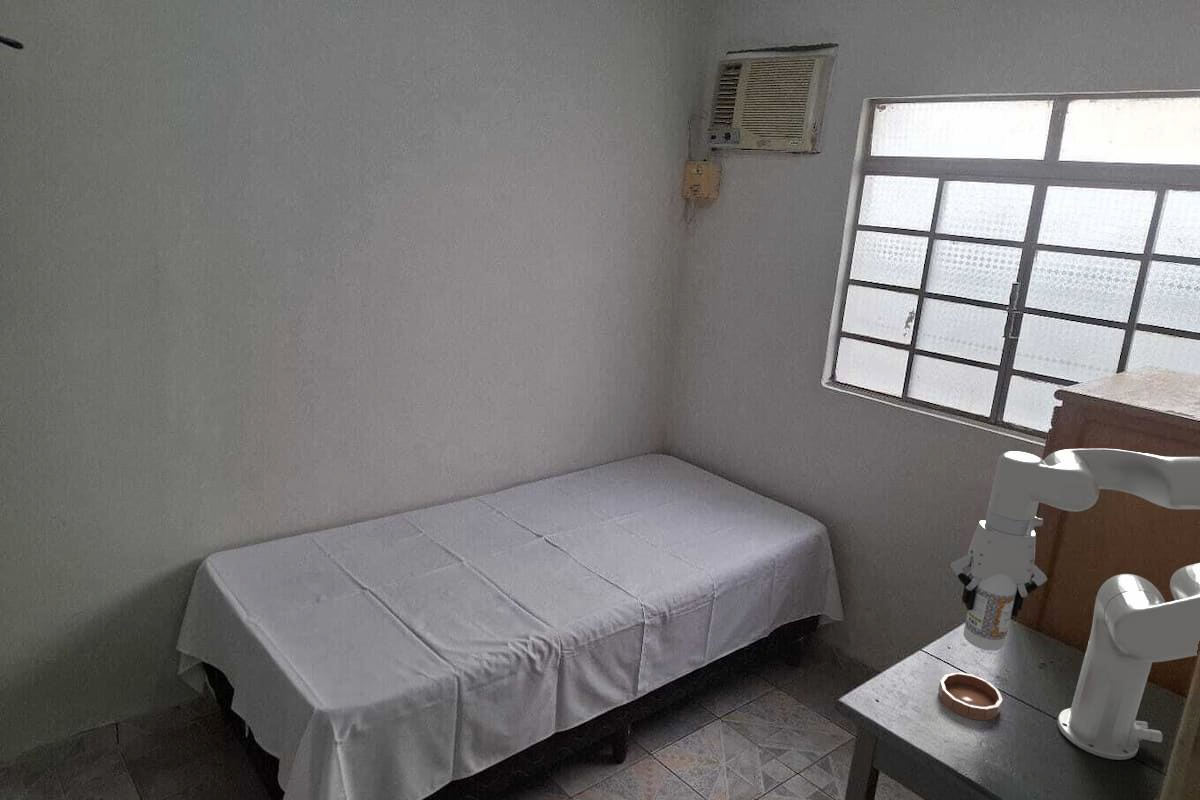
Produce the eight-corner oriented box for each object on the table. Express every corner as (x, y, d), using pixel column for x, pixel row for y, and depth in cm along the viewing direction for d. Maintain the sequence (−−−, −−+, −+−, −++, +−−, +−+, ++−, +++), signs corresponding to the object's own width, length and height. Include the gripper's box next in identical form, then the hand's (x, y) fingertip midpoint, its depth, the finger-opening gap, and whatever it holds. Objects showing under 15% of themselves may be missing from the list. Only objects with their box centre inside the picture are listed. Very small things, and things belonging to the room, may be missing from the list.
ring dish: (991, 689, 156) (993, 677, 155) (1005, 724, 146) (1008, 713, 145) (934, 679, 158) (936, 668, 157) (944, 714, 148) (947, 703, 147)
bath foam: (990, 656, 143) (1012, 557, 137) (955, 637, 148) (975, 540, 142) (1011, 644, 146) (1033, 547, 140) (976, 626, 152) (996, 531, 146)
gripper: (1054, 518, 142) (1033, 605, 147) (952, 506, 145) (935, 592, 150) (1070, 537, 135) (1047, 627, 140) (962, 524, 138) (944, 613, 143)
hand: (990, 608), depth 145 cm, fingers closed on bath foam, 7 cm apart
